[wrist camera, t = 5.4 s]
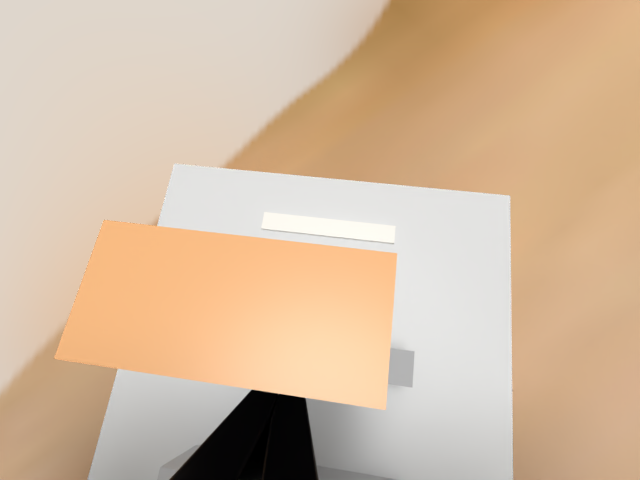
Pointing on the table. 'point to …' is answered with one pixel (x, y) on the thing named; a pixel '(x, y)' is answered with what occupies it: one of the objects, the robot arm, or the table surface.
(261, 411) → the robot arm
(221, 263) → the lever
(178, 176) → the switch plate
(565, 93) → the table surface
